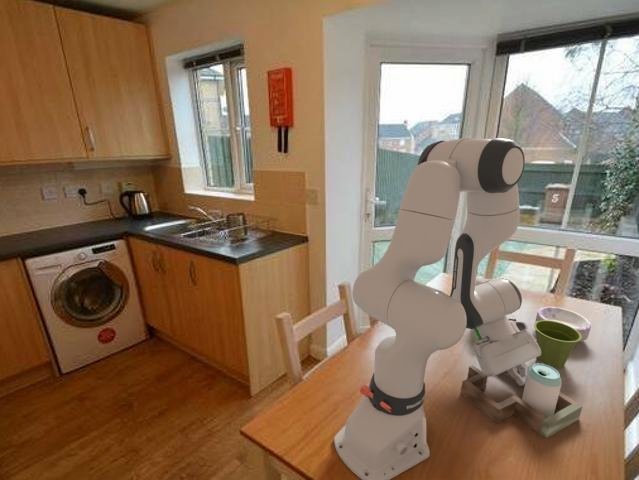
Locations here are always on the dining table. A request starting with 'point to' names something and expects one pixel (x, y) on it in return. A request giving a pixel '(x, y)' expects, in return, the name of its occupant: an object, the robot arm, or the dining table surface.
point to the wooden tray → (519, 406)
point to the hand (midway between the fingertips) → (524, 383)
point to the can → (542, 389)
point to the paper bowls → (566, 319)
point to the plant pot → (555, 342)
